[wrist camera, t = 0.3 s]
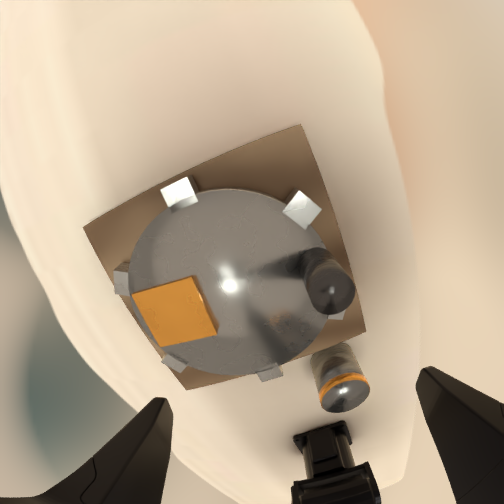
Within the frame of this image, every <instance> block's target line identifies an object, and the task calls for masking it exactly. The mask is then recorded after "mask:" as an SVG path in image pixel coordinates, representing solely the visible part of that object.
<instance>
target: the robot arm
mask: <svg viewBox="0 0 504 504" xmlns="http://www.w3.org/2000/svg"><path fill="white" fill-rule="evenodd" d="M416 391H417V394H418V397H419V401H420V404H421V407H422V410H423V413H424V417H425V420H426V423H427V425H428V427H429V430H430V432H431V434H432V437H433V439H434V442H435V444H436V447H437V449H438V452H439V454H440V457H441V460H442V462H443V465H444V467H445V470H446V473H447V476H448V479H449V481H450V484H451V488H452V491H453V493H454V496H455V500H456V503H457V504H504V404H503V403H500V402H499V401H497V400H495V399H493V398H491V397H489V396H487V395H485V394H483V393H482V392H480V391H478V390H476V389H474V388H472V387H470V386H468V385H466V384H465V383H463V382H461V381H459V380H457V379H455V378H453V377H451V376H450V375H448V374H446V373H444V372H442V371H440V370H438V369H436V368H435V367H432V366H429V367H426V368H423V369H422V370H421V371H420V374H419V377H418V380H417V382H416ZM172 427H173V412H172V410H171V407H170V405H169V402H168V400H167V399H166V398H162V397H155V398H153V399H152V400H151V401H150V402H149V403H148V404H147V405H146V406H145V407H144V408H143V409H142V410H141V411H140V412H139V413H138V414H137V415H136V416H135V417H134V418H133V419H132V420H131V421H130V422H129V423H128V424H126V425H125V426H124V427H123V428H122V429H121V430H120V431H119V432H118V433H117V434H116V435H115V436H114V437H113V438H112V439H111V440H110V441H109V442H107V443H106V444H105V445H104V446H103V447H102V448H101V449H100V450H99V451H98V452H97V453H96V454H94V455H93V457H91V458H90V459H89V460H88V461H87V462H86V463H84V464H83V465H82V466H81V467H80V468H79V469H77V470H76V471H75V472H74V473H72V474H71V475H69V476H68V477H67V478H65V479H64V480H62V481H61V482H59V483H58V484H56V485H55V486H53V487H52V488H50V489H49V490H47V491H46V492H44V493H43V494H40V495H37V496H34V497H21V498H3V497H2V498H1V497H0V504H161V499H162V494H163V488H164V483H165V478H166V473H167V468H168V463H169V459H170V452H171V439H172ZM293 441H294V443H295V444H296V446H297V447H298V448H299V450H300V451H301V453H302V454H303V456H304V462H305V468H306V475H307V479H306V480H301V481H294V486H292V487H291V494H292V503H291V504H381V497H380V492H379V489H378V486H377V483H376V480H375V478H374V475H373V473H372V470H371V468H370V465H369V463H368V461H367V462H365V463H363V464H361V465H358V466H355V463H354V459H353V456H352V453H351V449H350V446H349V445H351V444H352V440H351V437H350V434H349V431H348V429H347V426H346V423H345V421H341V422H338V423H336V424H333V425H330V426H327V427H324V428H321V429H318V430H314V431H311V432H308V433H305V434H301V435H298V436H295V437H293Z"/></svg>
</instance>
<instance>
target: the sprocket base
mask: <svg viewBox="0 0 504 504" xmlns="http://www.w3.org/2000/svg"><path fill="white" fill-rule="evenodd" d="M190 175H192V177H193V179H194V181H195V183H196V186H197V188H198V190H199V191H203V190H207V189H212V188H220V187H240V188H247V189H252V190H257V191H260V192H263V193H266V194H269V195H272V196H274V197H276V198H278V199H280V200H282V201H285V199H286V198H287V197H288V196H289V194H290V193H291V192H292V191H293V189H294V188H296V189H298V190H299V191H300V192H302V193H303V194H304V195H305V196H307V197H308V198H309V199H310V200H311V201H313V202H314V203H315V204H316V205H317V206H319V207H320V208H321V209H322V210H321V211H320V212H319V214H318V215H317V216H316V217H315V218H314V220H313V221H312V222H311V223H310V225H311V226H312V227H313V229H314V230H315V231H316V232H317V234H318V235H319V236H320V238H321V240H322V241H323V243H324V245H325V246H326V249H327V250H328V251H329V252H330V253H331V254H332V255H333V256H334V258H335V259H336V260H337V261H338V263H339V264H340V265H341V267H342V268H343V269H344V270H345V272H346V273H347V274H348V276H349V277H350V278H351V280H352V281H353V283H354V279H353V275H352V271H351V268H350V264H349V261H348V257H347V254H346V250H345V247H344V243H343V240H342V237H341V234H340V230H339V227H338V224H337V221H336V218H335V215H334V212H333V209H332V206H331V203H330V200H329V197H328V194H327V191H326V188H325V185H324V182H323V180H322V177H321V174H320V171H319V169H318V166H317V163H316V161H315V158H314V156H313V153H312V150H311V148H310V145H309V143H308V140H307V138H306V135H305V133H304V130H303V128H302V126H301V124H300V125H297V126H294V127H291V128H288V129H285V130H283V131H280V132H277V133H274V134H272V135H269V136H266V137H264V138H261V139H259V140H256V141H254V142H251V143H249V144H246V145H244V146H241V147H239V148H236V149H234V150H232V151H229V152H227V153H225V154H222V155H220V156H218V157H215V158H213V159H211V160H209V161H206V162H204V163H202V164H200V165H198V166H196V167H193V168H191V169H189V170H187V171H185V172H183V173H181V174H179V175H177V176H175V177H173V178H171V179H169V180H167V181H165V182H163V183H161V184H159V185H157V186H155V187H153V188H151V189H149V190H147V191H145V192H143V193H141V194H140V195H138V196H136V197H134V198H132V199H130V200H129V201H127V202H125V203H123V204H121V205H120V206H118V207H116V208H114V209H113V210H111V211H109V212H107V213H106V214H104V215H102V216H101V217H99V218H97V219H96V220H94V221H92V222H91V223H89V224H87V225H86V226H84V227H83V229H84V231H85V233H86V235H87V237H88V239H89V241H90V243H91V245H92V247H93V249H94V251H95V252H96V254H97V256H98V258H99V260H100V262H101V264H102V265H103V267H104V269H105V271H106V273H107V274H108V276H109V278H110V280H111V281H112V283H113V285H114V274H113V270H114V269H115V268H116V267H117V266H118V265H119V264H120V263H121V262H122V263H129V264H130V259H131V256H132V253H133V250H134V247H135V245H136V243H137V241H138V239H139V237H140V236H141V234H142V233H143V232H144V230H145V229H146V227H147V226H148V225H149V224H150V223H151V222H152V221H153V220H154V219H155V217H156V216H158V215H159V214H160V213H161V212H163V211H164V210H165V209H167V208H168V205H167V203H166V201H165V199H164V197H163V195H162V193H161V189H163V188H165V187H167V186H169V185H171V184H173V183H175V182H177V181H179V180H181V179H183V178H186V177H188V176H190ZM354 285H355V283H354ZM120 297H121V298H122V300H123V302H124V303H125V305H126V306H127V308H128V310H129V311H130V313H131V314H132V316H133V317H134V319H135V320H136V322H137V324H138V325H139V327H140V328H141V330H142V331H143V332H144V334H145V335H146V337H147V338H148V340H149V341H150V343H151V344H152V345H153V347H154V348H155V350H156V351H157V352H158V354H159V355H160V357H161V358H163V355H164V353H165V352H164V351H163V350H162V349H161V348H160V347H158V346H157V345H156V344H155V342H154V341H153V340H152V339H151V338H150V337H149V336H148V334H147V333H146V332H145V331H144V329H143V328H142V326H141V324H140V322H139V321H138V319H137V317H136V314H135V312H134V310H133V307H132V303H131V300H130V296H125V295H120ZM364 332H366V328H365V324H364V319H363V315H362V311H361V306H360V302H359V298H358V294H357V290H356V286H355V297H354V299H353V301H352V303H351V304H350V306H349V307H348V308H347V309H346V310H345V313H344V316H343V320H336V319H327V321H326V323H325V325H324V327H323V329H322V330H321V332H320V333H319V334H318V336H317V337H316V338H315V340H314V341H313V342H312V343H311V344H310V345H309V346H308V347H307V348H306V349H305V350H304V351H302V352H301V353H300V354H299V355H297V356H296V357H294V358H293V359H291V360H290V361H293V360H295V359H298V358H301V357H304V356H307V355H309V354H312V353H315V352H318V351H320V350H323V349H325V348H328V347H331V346H333V345H336V344H338V343H341V342H343V341H345V340H348V339H350V338H353V337H355V336H357V335H360V334H362V333H364ZM290 361H288V362H290ZM286 363H287V362H286ZM168 367H169V366H168ZM169 369H170V370H171V371H172V373H173V374H174V375H175V376H176V378H177V379H178V380H179V382H180V383H181V384H182V385H183V387H184V388H185V389H186V390H191V389H195V388H199V387H204V386H208V385H212V384H216V383H220V382H223V381H227V380H231V379H235V378H238V377H242V376H245V375H220V374H214V373H208V372H205V371H201V370H198V369H195V368H192V367H190V366H187V367H186V368H185V369H184V370H183V371H182V372H181V373H179V372H177V371H176V370H174V369H172V368H170V367H169ZM248 375H249V374H248Z"/></svg>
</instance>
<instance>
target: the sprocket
mask: <svg viewBox="0 0 504 504" xmlns="http://www.w3.org/2000/svg"><path fill="white" fill-rule="evenodd" d="M161 193H162V195H163V197H164V199H165V201H166V203H167V205H168V208H167V209H165V210H164V211H163V212H161V213H160V214H159V215H158V216H156V217H155V219H154V220H153V221H152V222H151V223H150V224H149V225H148V226H147V227H146V229H145V230H144V232H143V233H142V234H141V236H140V237H139V239H138V241H137V243H136V245H135V247H134V250H133V253H132V256H131V259H130V264H129V263H122V262H121V263H120V264H119V265H118V266H117V267H116V268H115V269H114V270H113V274H114V287H115V294H119V295H125V296H130V300H131V303H132V307H133V310H134V312H135V314H136V317H137V319H138V321H139V322H140V324H141V326H142V328H143V329H144V331H145V332H146V333H147V334H148V336H149V337H150V338H151V339H152V340H153V341H154V342H155V344H156V345H157V346H158V347H160V348H161V349H162V350H163V351H164V352H165V353H164V355H163V358H162V361H161V362H162V363H163V364H165V365H167V366H169V367H170V368H172V369H174V370H176V371H177V372H179V373H181V372H182V371H183V370H184V369H185V368H186V367H187V366H190V367H192V368H195V369H198V370H201V371H205V372H208V373H214V374H220V375H248V374H255V373H257V375H258V376H259V378H260V380H261V381H262V382H264V381H268V380H271V379H274V378H278V377H281V376H283V371H282V364H284V363H286V362H288V361H290V360H291V359H293V358H294V357H296V356H297V355H299V354H300V353H301V352H302V351H304V350H305V349H306V348H307V347H308V346H309V345H310V344H311V343H312V342H313V341H314V340H315V338H316V337H317V336H318V334H319V333H320V332H321V330H322V329H323V327H324V325H325V323H326V321H327V319H336V320H343V316H344V313H345V310H346V309H347V308H348V307H349V306H350V304H351V303H352V301H353V299H354V297H355V285H354V283H353V281H352V280H351V278H350V277H349V276H348V274H347V273H346V272H345V270H344V269H343V268H342V267H341V265H340V264H339V263H338V261H337V260H336V259H335V258H334V256H333V255H332V254H331V253H330V252H329V251H328V250H327V249H326V246H325V245H324V243H323V241H322V240H321V238H320V236H319V235H318V234H317V232H316V231H315V230H314V229H313V227H312V226H311V225H310V223H311V222H312V221H313V220H314V218H315V217H316V216H317V215H318V214H319V212H320V211H321V210H322V209H321V208H320V207H319V206H317V205H316V204H315V203H314V202H313V201H311V200H310V199H309V198H308V197H307V196H305V195H304V194H303V193H302V192H300V191H299V190H298V189H296V188H294V189H293V191H292V192H291V193H290V194H289V196H288V197H287V198H286V199H285V201H282V200H280V199H278V198H276V197H274V196H272V195H269V194H266V193H263V192H260V191H257V190H252V189H247V188H240V187H220V188H212V189H207V190H203V191H199V190H198V188H197V186H196V183H195V181H194V179H193V177H192V175H190V176H188V177H186V178H183V179H181V180H179V181H177V182H175V183H173V184H171V185H169V186H167V187H165V188H163V189H161Z"/></svg>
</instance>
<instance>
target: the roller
mask: <svg viewBox="0 0 504 504" xmlns="http://www.w3.org/2000/svg"><path fill="white" fill-rule="evenodd" d="M311 367H312V371H313V374H314V378H315V382H316V385H317V389H318V393H319V399H320V403H321V406H322V408H323V409H324V410H326V411H328V412H332V413H340V412H345V411H349V410H351V409H353V408H355V407H357V406H359V405H360V404H361V403H362V402H363V401H364V400H365V399H366V398H367V396H368V394H369V392H370V387H369V384H368V382H367V380H366V378H365V377H364V375H363V373H362V371H361V369H360V366H359V364H358V362H357V360H356V358H355V356H354V354H353V352H352V350H351V348H350V347H349V346H348V345H347V344H345V343H342V342H341V343H338V344H336V345H333V346H331V347H328V348H325V349H323V350H320V351H318V352H315V353H314V354H313V356H312V358H311Z"/></svg>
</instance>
